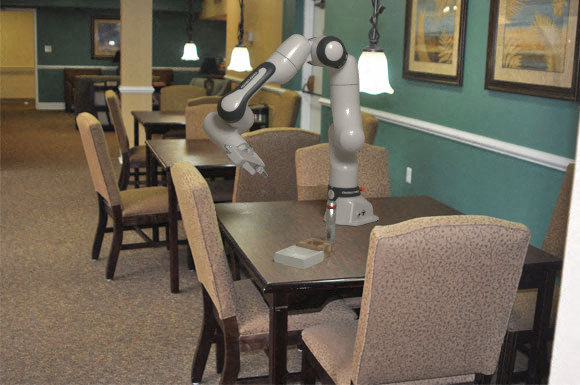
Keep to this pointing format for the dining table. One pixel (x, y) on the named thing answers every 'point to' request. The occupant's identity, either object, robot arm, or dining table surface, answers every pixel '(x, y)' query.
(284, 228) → the dining table surface
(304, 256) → the tray
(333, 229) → the cylinder
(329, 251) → the wooden square frame
